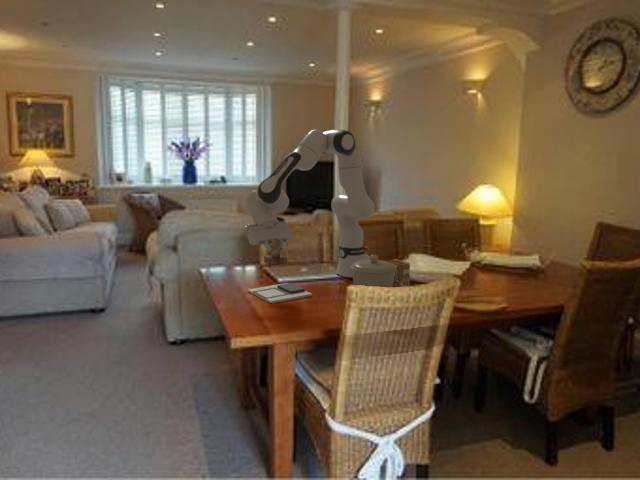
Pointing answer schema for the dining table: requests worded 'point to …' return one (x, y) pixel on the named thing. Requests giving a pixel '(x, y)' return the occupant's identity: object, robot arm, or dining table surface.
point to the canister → (373, 272)
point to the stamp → (275, 254)
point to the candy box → (401, 273)
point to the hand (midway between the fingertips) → (276, 250)
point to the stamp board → (280, 292)
